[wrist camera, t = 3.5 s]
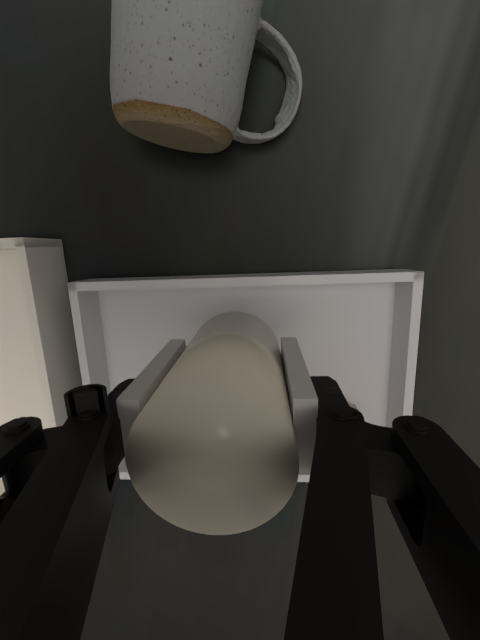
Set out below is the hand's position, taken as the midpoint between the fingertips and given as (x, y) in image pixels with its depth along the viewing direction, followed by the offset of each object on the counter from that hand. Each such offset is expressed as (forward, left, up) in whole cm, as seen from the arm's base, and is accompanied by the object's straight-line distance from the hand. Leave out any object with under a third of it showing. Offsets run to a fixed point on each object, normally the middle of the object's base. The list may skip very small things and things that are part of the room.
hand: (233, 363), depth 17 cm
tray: (+4, 0, -8) cm, 9 cm away
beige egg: (0, 0, -1) cm, 1 cm away
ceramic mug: (-16, -1, -8) cm, 18 cm away
